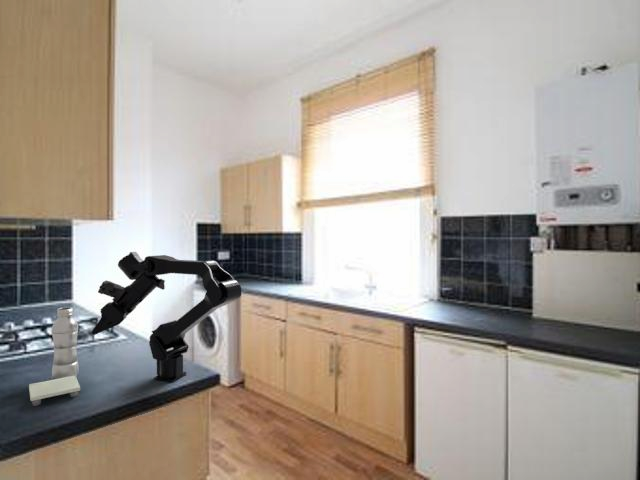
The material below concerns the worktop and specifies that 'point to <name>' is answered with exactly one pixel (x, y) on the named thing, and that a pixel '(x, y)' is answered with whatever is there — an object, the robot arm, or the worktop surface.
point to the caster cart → (53, 388)
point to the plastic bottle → (65, 344)
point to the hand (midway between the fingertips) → (97, 329)
